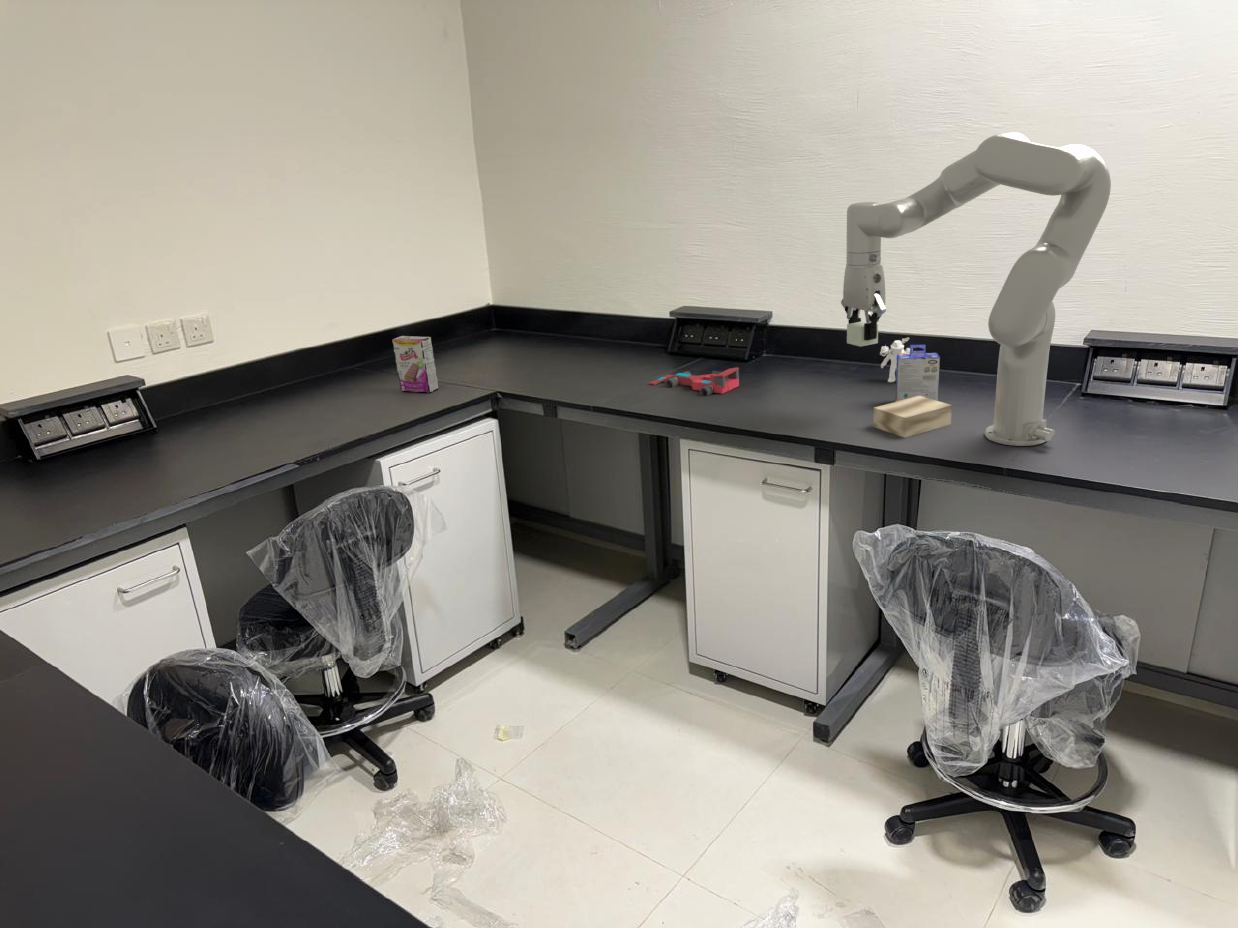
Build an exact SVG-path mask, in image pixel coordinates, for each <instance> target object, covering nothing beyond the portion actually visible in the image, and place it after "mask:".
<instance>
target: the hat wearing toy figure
mask: <svg viewBox="0 0 1238 928" xmlns="http://www.w3.org/2000/svg"><path fill="white" fill-rule="evenodd" d="M909 340H910V337H908V336H907V337H906V338H901V340H899V339H898V340H896V339H895V340H894V341H893V342H892V343H891V344H890V347H889V346H886V345H885V346H883V345H882V346H881V347H880V348H881V349H880V352H879V355H880V356H882V357H885V356H886V357H885V358H884V359H883V361H882V362H881V364H880V368H881V369H884V366H887V364H888V362H889V360H890V366H889V367H890V368H889V374H888V376H889V377H888V379H887V382H888V383H895V382H896V375H895V374H896V367H897V355H900V354H910V346H909V347H906V348H905V345H904V344H905V343H906V342H908V341H909ZM904 348H905V349H904ZM912 350H913V349H912ZM913 351H914V350H913Z"/></svg>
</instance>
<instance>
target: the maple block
mask: <svg viewBox="0 0 1238 928" xmlns="http://www.w3.org/2000/svg"><path fill="white" fill-rule="evenodd" d="M952 408H953V405H952V404H949V403H945V402H942V401H939V400H938V401H936V400H933V399H929V398H926V397H922V396H916V397H912V398H908V399H904V400H901V401H897V402H895V401H894V402H890V403H886V404H883V405H879V406H874V407H873V425H872V427H873V428H876V429H879V430H881V431H884V432H887V433H890V434H893V435H896V436H899V437H901V438H909V437H912V436H915V435H919V434H922V433H927V432H929V431H934V430H937V429H941V428H944V427H948V426H951V425H952V412H953V411H952Z"/></svg>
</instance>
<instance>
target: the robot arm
mask: <svg viewBox="0 0 1238 928" xmlns="http://www.w3.org/2000/svg"><path fill="white" fill-rule="evenodd" d="M1111 181H1112V180H1111V175H1110V171H1109V168H1108V166H1107V164H1106V162H1105V160H1104V158H1102V156H1101V155H1100V154H1099V153H1098V152H1097V151H1096V150H1094V149H1093V148H1091V147H1089V146H1086V145H1083V144H1079V143H1078V144H1077V143H1075V144H1066V145H1064V146H1063V145H1062V146H1059V147H1057V146H1051V145H1046V144H1041V143H1036V142H1031V141H1030V139H1029V138H1028V137H1027V136H1026V135H1025V134H1022V133H1021V132H1017V131H1010V132H1009V131H1007V132H1004V133H998V134H994V135H991V136H989V137H987V138H986V139H985V140H983V141H982V142H981V143H980V144H979V145H978V146H977V148H976V149H975V150H973V151H972V152H970V153H969V154H967V155H965V156H963V157H962V158H960V159H958V160H956V161H955V162H952V163H951V164H949V165H947V166H946V167H945V168H944V169H942V171H941V173H940V174H939V176H938V178H936V179H934V181H932V182H931V183H930V184H928V185H926V186H925V187H922V188H921V189H919V190H918V191H916V192H914V193H912V194H911V195H909V196H907V197H905V198H902V199H898V200H895V201H890V202H887V203H882V204H880V203H878V202H875V201H864V202H861V201H860V202H855V203H851V204H849V206H848V207H847V210H846V261H845V262H846V263H845V264H846V265H845V269H844V277H843V289H842V293H843V294H842V296H843V297H842V299H841V301H840V304H841V306H842V307H843V309H844V311H845V313H846V319H847V321H848V323H847V324H851V323H857V322H861V321H862V319H861V317H860V315H861V314H860V313H861V311H863V312H864V317H865V321H866V323H864V340H866V341H867V340H872V339H876V338H877V324H878V322H879V321H880V318H881V317H882V316H883V314H885V313H886V312H887V310H886V309H887V308H886V281H885V280H886V279H885V271H884V267H883V265H882V264H881V259H882V256H881V254H882V253H881V252H882V251H881V249H882V238H883V239H894V238H898V237H900V236H901V237H902V236H904V235H906V234H909V233H913V232H915V231H917V230H919V229H921V228H923V227H925V226H927V225H929V224H930V223H932V222H934V221H935V220H938V219H939V218H942V217H943V216H945V215H947V214H948V213H950V212H952V211H954V210H956V209H958V208H960V207H962V206H964V205H966V204H968V203H970V202H971V201H972V200H975V199H977V198H978V197H980V196H981V195H983V194H985V193H987V192H989V191H991V190H992V189H994V188H996V187H999V186H1000V185H1001V186H1006V187H1010V188H1013V189H1018V190H1021V191H1026V192H1031V193H1034V194H1040V195H1044V196H1060V198H1059V201H1058V203H1057V205H1056V207H1055V208H1054V209H1053V212H1052V213H1051V215H1050V217H1049V219H1048V222H1047V223H1046V227H1045V228H1044V230H1043V232H1042V233H1041V236H1040V238H1039V239H1038V241H1037V243H1036V245H1035V246H1033V247H1032V248H1030V249H1028V250H1026V251H1025V252H1023V253H1022V254H1021V255H1020V256H1019V257H1018V259H1017V260H1016V261H1015V263H1014V264H1013V266H1012V267H1011V269H1010V271H1009V273H1008V275H1007V277H1006V278H1005V279H1006V280H1005V282H1004V283H1003V286H1002V287H1001V290H1000V293H999V294H998V296H997V298H996V300H995V302H994V305H993V307H992V309H991V311H990V313H989V317H988V321H987V322H988V323H987V325H988V330H989V333H990V336H991V337H992V339H993V340H994V341H995V342H996V343H998V344H999V345H1000V347H999V353H998V362H997V363H998V364H997V365H998V366H997V374H996V376H997V377H996V385H995V386H996V390H995V401H994V411H993V412H994V415H993V424H991V425H989V426H988V427H987V428H985V432H984V435H985V437H986V438H987V440H989V441H992V442H994V443H998V444H1000V445H1006V446H1015V447H1016V446H1017V447H1028V446H1029V447H1030V446H1037V445H1041V444H1044V443H1045V442H1049V441H1051V440H1052V439H1053V438H1052V437H1054V436H1055V434H1056V430H1055V429H1053V428H1049V427H1047V419H1044V404H1045V397H1046V395H1045V394H1046V388H1047V387H1046V385H1047V375H1048V367H1049V366H1048V365H1049V356H1050V349H1051V348H1050V347H1051V343H1052V337H1053V333H1054V332H1053V331H1054V327H1055V322H1056V308H1055V304H1054V302H1053V300H1054V298H1056V297H1055V296H1056V294H1057V293H1058V291H1059V290H1060V289H1061V288H1063V287H1065V285H1067V284H1068V283H1070V281H1071V280H1072V278H1073V277H1074V275H1075V273H1076V271H1077V269H1078V266H1079V264H1080V262H1081V260H1082V257H1083V256H1084V254H1085V252H1086V250H1087V248H1088V246H1089V244H1090V243H1091V240H1092V238H1093V235H1094V233H1095V231H1096V229H1097V227H1098V226H1099V223H1100V221H1101V219H1102V217H1103V215H1104V213H1105V210H1106V209H1107V205H1108V203H1109V199H1110V194H1111V188H1112V187H1111V185H1112V183H1111ZM871 313H872V314H871Z"/></svg>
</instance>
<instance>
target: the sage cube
mask: <svg viewBox="0 0 1238 928" xmlns="http://www.w3.org/2000/svg"><path fill="white" fill-rule="evenodd" d="M864 323H866V320H863V321H862V320H861V322H857V323H851V324H848V323H847V324H846V344H848V345H849V344H850V345H853V346H857V347H865V346H866V347H867V346H869V345H875V344H879V324H878V323H877V338H876V339H872V340H867V341H866V340H864Z"/></svg>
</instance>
